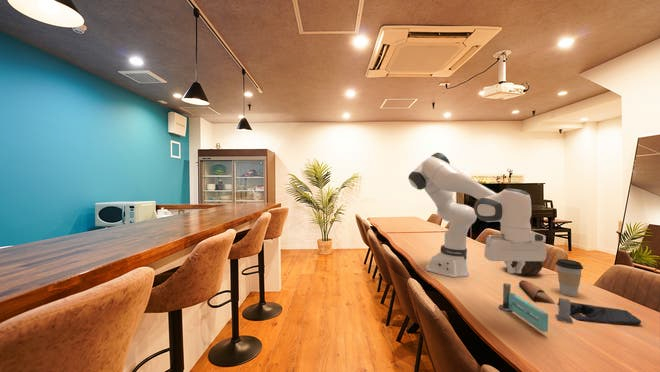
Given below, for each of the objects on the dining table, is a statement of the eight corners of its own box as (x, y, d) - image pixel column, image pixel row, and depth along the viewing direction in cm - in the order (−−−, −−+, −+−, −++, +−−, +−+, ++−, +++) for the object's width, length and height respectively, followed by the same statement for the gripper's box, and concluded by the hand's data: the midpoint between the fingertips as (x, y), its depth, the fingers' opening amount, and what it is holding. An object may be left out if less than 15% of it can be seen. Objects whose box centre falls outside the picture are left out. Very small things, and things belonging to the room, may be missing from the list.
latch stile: (557, 319, 98) (557, 300, 97) (555, 315, 101) (556, 296, 100) (572, 323, 95) (573, 303, 95) (570, 319, 98) (571, 299, 98)
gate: (508, 308, 103) (509, 293, 103) (513, 308, 103) (513, 293, 103) (542, 332, 87) (543, 314, 87) (547, 331, 87) (548, 314, 87)
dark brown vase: (540, 271, 150) (541, 223, 150) (545, 281, 135) (546, 227, 135) (503, 265, 160) (504, 220, 159) (503, 274, 145) (505, 224, 144)
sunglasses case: (558, 304, 109) (548, 289, 110) (540, 310, 111) (531, 296, 112) (538, 288, 126) (530, 275, 127) (524, 293, 128) (516, 281, 129)
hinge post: (498, 309, 105) (499, 285, 105) (499, 304, 109) (499, 281, 109) (514, 313, 102) (514, 288, 102) (513, 308, 106) (514, 283, 106)
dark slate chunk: (650, 332, 91) (651, 318, 91) (572, 321, 98) (573, 308, 98) (618, 311, 106) (618, 299, 105) (552, 302, 112) (552, 292, 112)
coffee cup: (587, 299, 115) (589, 265, 115) (563, 297, 117) (564, 264, 116) (572, 290, 124) (573, 259, 124) (550, 288, 126) (550, 257, 126)
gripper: (492, 236, 89) (491, 276, 90) (550, 236, 90) (549, 276, 90) (481, 232, 95) (480, 269, 96) (535, 232, 96) (534, 269, 96)
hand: (514, 272), depth 93 cm, fingers closed
